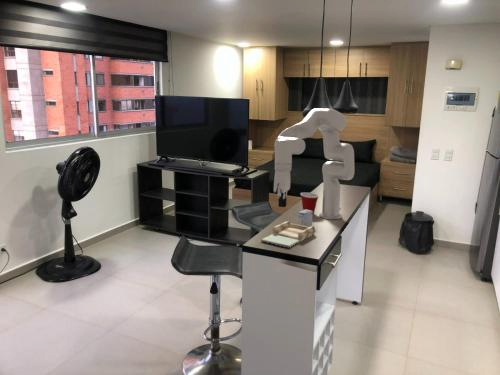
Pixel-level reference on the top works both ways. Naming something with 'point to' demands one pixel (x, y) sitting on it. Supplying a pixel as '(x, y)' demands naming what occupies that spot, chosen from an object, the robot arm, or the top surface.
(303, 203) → the plastic cup
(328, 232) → the top surface
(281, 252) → the top surface
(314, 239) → the top surface
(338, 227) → the top surface
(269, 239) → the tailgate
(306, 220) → the medicine box
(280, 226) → the beige square tray
